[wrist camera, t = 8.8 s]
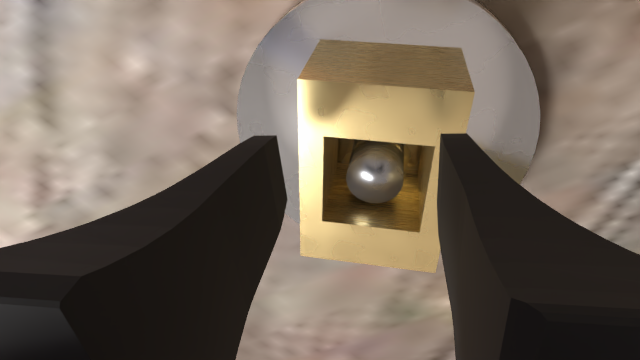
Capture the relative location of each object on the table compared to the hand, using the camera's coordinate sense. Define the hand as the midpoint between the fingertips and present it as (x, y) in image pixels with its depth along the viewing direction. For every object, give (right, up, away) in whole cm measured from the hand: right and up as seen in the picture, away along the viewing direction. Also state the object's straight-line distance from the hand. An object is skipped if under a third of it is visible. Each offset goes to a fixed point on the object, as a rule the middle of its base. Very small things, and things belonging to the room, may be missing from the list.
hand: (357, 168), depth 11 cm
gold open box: (+1, +2, +6) cm, 7 cm away
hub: (+2, +2, +7) cm, 8 cm away
